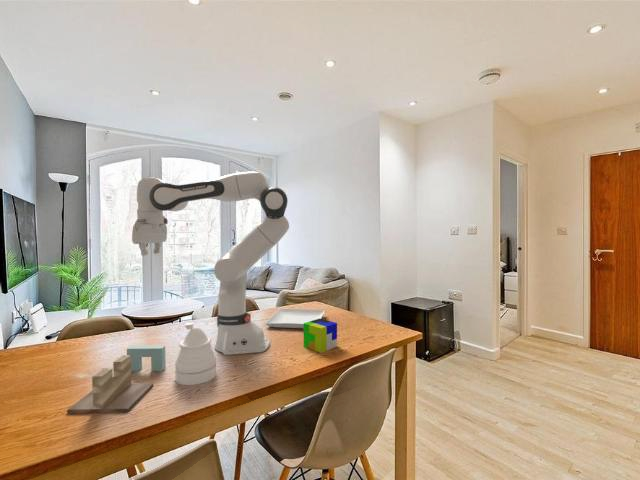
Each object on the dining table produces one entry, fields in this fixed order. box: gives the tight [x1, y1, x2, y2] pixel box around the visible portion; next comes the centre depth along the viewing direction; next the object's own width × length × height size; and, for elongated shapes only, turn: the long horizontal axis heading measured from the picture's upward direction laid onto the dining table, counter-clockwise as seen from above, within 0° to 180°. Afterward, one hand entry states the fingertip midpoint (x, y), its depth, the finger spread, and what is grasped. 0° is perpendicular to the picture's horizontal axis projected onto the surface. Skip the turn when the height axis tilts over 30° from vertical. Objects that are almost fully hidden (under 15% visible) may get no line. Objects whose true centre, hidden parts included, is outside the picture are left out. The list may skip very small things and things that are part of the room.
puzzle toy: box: [303, 318, 338, 354], centre depth 134 cm, size 10×10×10 cm
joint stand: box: [66, 354, 154, 414], centre depth 93 cm, size 16×14×10 cm
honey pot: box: [174, 322, 217, 386], centre depth 107 cm, size 13×13×18 cm
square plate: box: [264, 308, 326, 330], centre depth 168 cm, size 27×27×4 cm
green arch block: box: [126, 345, 166, 372], centre depth 112 cm, size 12×2×8 cm, turn 92°
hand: (150, 254), depth 125 cm, fingers open, 8 cm apart
